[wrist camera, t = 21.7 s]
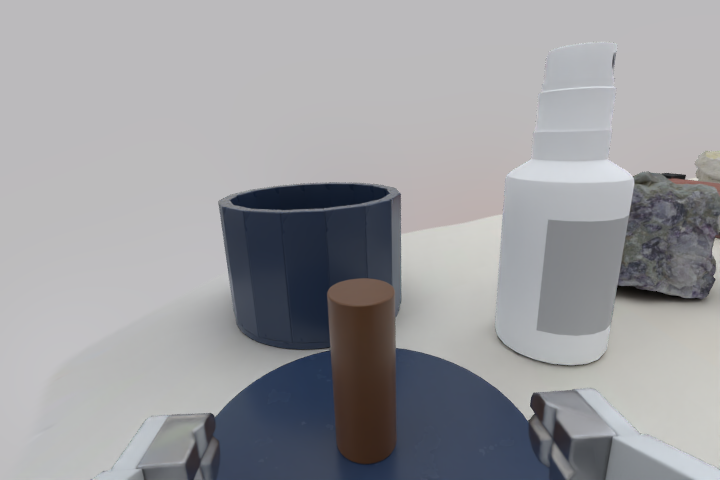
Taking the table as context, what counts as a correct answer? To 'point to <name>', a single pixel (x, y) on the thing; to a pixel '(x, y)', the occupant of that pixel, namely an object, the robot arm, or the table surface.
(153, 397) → the table surface
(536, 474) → the lid
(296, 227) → the pot
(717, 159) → the white rock
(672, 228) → the mineral rock
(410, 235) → the table surface
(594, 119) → the spray bottle
